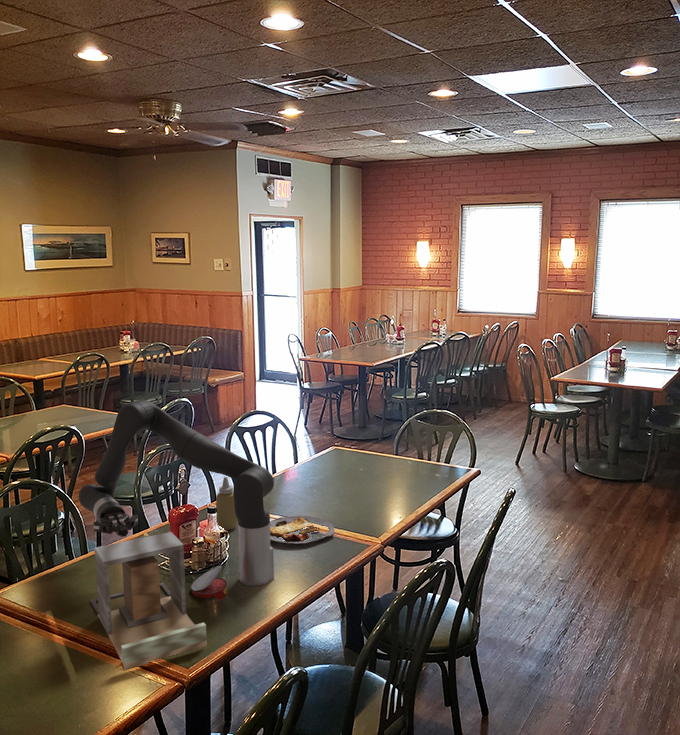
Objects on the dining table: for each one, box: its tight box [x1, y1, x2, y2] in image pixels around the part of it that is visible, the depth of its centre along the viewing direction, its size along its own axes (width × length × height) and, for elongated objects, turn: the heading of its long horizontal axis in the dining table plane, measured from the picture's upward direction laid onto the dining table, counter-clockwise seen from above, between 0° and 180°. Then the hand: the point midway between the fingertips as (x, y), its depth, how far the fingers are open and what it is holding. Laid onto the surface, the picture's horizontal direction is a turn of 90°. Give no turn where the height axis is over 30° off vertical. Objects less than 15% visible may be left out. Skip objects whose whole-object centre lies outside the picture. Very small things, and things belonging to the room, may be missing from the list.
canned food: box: [190, 565, 228, 602], centre depth 201 cm, size 11×10×10 cm
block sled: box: [118, 555, 167, 628], centre depth 186 cm, size 10×9×16 cm
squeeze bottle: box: [215, 476, 238, 531], centre depth 249 cm, size 8×8×18 cm
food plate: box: [270, 514, 335, 545], centre depth 244 cm, size 25×23×4 cm
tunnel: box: [90, 531, 208, 672], centre depth 183 cm, size 20×35×21 cm, turn 31°
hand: (124, 533), depth 197 cm, fingers closed
